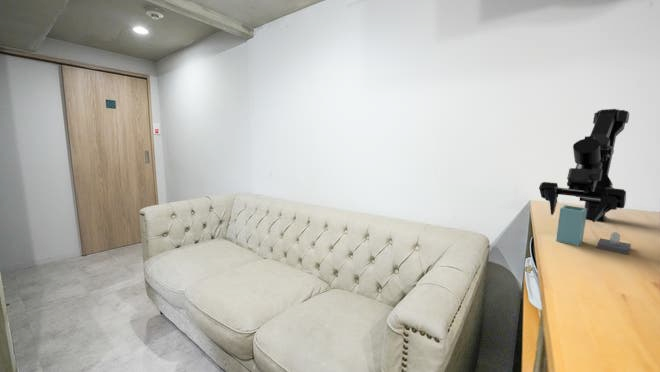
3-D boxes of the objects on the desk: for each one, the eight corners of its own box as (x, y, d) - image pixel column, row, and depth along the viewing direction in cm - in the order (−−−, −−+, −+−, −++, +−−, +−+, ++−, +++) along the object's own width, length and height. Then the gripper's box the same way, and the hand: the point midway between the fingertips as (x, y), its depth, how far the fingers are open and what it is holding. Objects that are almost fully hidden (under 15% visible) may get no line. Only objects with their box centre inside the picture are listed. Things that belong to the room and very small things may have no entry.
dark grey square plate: (599, 242, 80) (602, 227, 79) (630, 248, 75) (633, 232, 75) (596, 247, 76) (599, 232, 75) (628, 254, 72) (631, 238, 71)
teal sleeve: (560, 236, 85) (565, 205, 83) (582, 241, 81) (587, 208, 79) (556, 240, 82) (560, 208, 80) (578, 245, 78) (583, 211, 76)
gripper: (544, 156, 87) (528, 196, 82) (631, 159, 72) (618, 207, 68) (549, 178, 93) (534, 216, 88) (630, 185, 78) (618, 231, 74)
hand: (571, 217), depth 79 cm, fingers open, 9 cm apart
